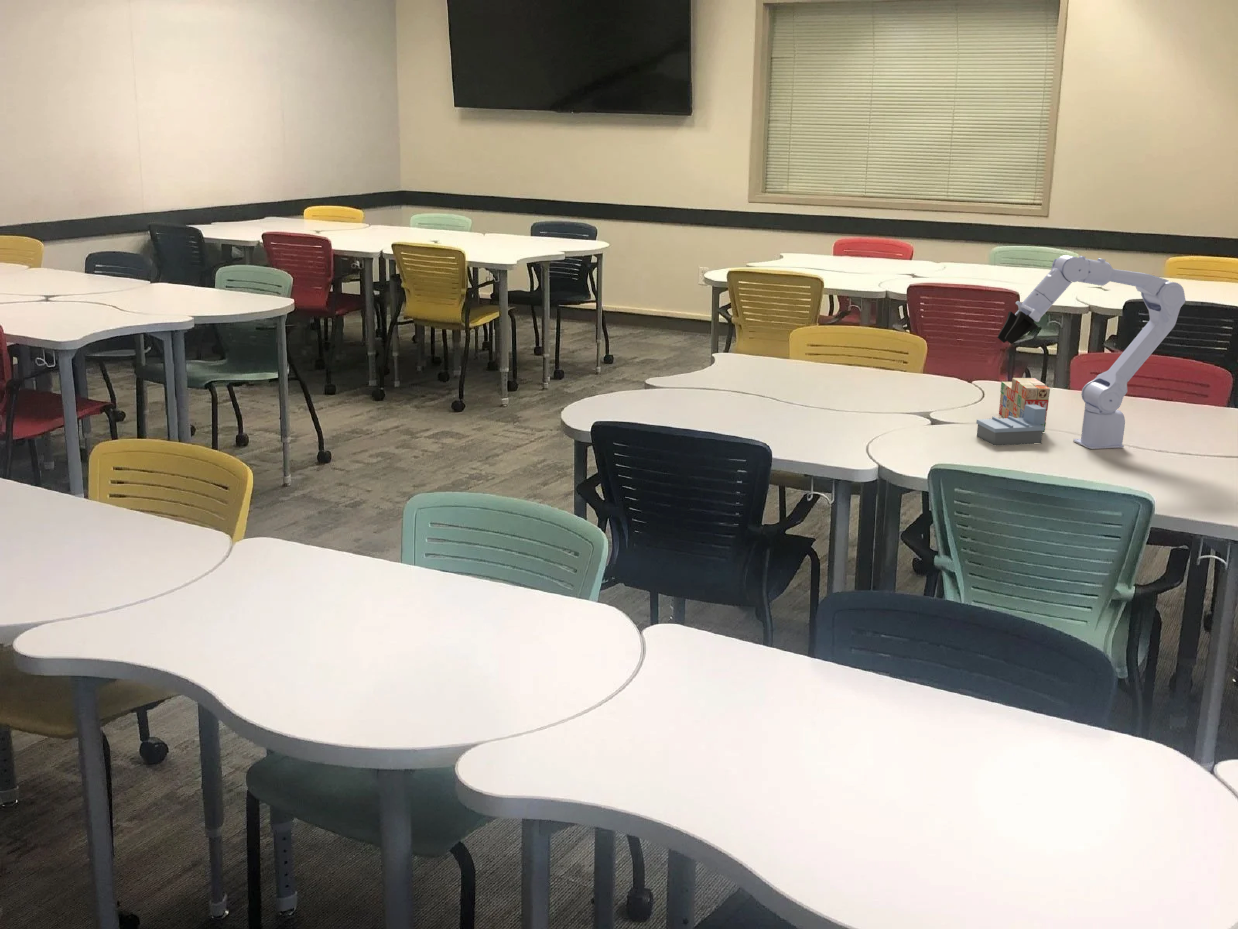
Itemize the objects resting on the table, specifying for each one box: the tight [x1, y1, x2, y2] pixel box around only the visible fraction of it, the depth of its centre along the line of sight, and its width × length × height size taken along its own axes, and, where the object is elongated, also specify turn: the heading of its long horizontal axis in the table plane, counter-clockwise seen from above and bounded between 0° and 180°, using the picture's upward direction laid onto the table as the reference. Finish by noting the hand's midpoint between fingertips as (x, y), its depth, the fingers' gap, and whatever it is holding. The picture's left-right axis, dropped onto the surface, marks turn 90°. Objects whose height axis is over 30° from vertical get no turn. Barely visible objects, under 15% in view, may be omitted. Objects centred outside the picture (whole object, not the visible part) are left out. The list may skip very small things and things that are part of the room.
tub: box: [976, 424, 1043, 447], centre depth 305 cm, size 13×9×4 cm
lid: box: [975, 404, 1046, 433], centre depth 304 cm, size 15×10×5 cm, turn 102°
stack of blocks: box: [998, 377, 1051, 433], centre depth 321 cm, size 21×6×12 cm, turn 179°
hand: (1004, 340), depth 292 cm, fingers open, 7 cm apart
